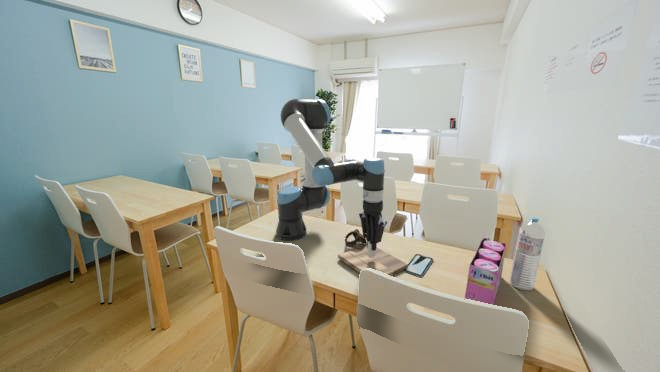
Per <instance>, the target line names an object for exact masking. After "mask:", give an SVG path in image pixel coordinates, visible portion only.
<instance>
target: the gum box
mask: <svg viewBox="0 0 660 372" xmlns="http://www.w3.org/2000/svg"><path fill="white" fill-rule="evenodd" d="M506 251H507V243H506V242H501V243H499V242H498V241H495V240H494V241H493V240H488V238H487V237H483V238H482V240H481V241H480V243H479V245H478V247H477V249H476V253H475V254H474V256H473V258H472V260H471V262H470V263H469V268H468V274H467V282H466V287H465V293H464V294H465V295H464V299H465V298H466V299H471V300H475V301H480V302H484V303H488V304H493V305H494V304H495V300H496V297H497V295H498V290H499V286H500V283H501V279H502V276H503V267H504V263H505V256H506Z"/></svg>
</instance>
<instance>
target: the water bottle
mask: <svg viewBox="0 0 660 372" xmlns="http://www.w3.org/2000/svg"><path fill="white" fill-rule="evenodd" d="M518 232H519V234H518V239H517V244H516V248H515V253H514V258H513V262H512V268H511V273H510V279H509V281H510V284H511V285H512V286H513V287H514V288H515V289H518V290H521V291H528V292H530V291H532V290H533V289H534V287H535V283H536V279H537V274H538V270H539V264H540V260H541V255H542V254H541V253H542V250H543V246H544V241H545V238H546V231H545V229H544V227H543V226H541V224H539V218H537V217H531V219H530V222H526V223H524V224H523V225H522V226H520V227H519V231H518Z"/></svg>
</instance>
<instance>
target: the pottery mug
mask: <svg viewBox="0 0 660 372" xmlns="http://www.w3.org/2000/svg"><path fill="white" fill-rule="evenodd" d="M350 236H352V237H353V238H354V239H353V240H351V241H348V239H349V238H350ZM344 238H345V239H344V244H345V246H346V247H348V248H353V247H356V248H358V244H359V243H361V244H363V245H364V246H366V245H367V240H366V238H364V237H363V233H360V230H359V229H357V228H356V229H354V230H352V231H350V232H348V233H347V234H346V235H345V237H344Z"/></svg>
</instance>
